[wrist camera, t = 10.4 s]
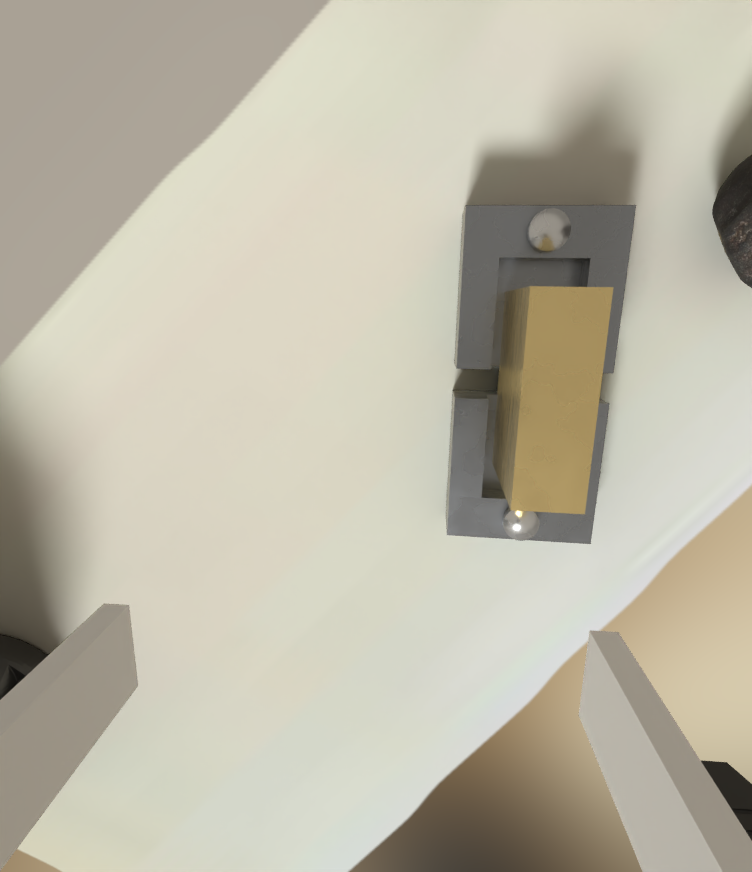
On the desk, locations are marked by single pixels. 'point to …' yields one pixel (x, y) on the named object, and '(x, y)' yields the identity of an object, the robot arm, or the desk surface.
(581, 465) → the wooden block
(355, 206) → the desk surface
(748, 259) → the stone
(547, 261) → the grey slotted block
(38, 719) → the robot arm
